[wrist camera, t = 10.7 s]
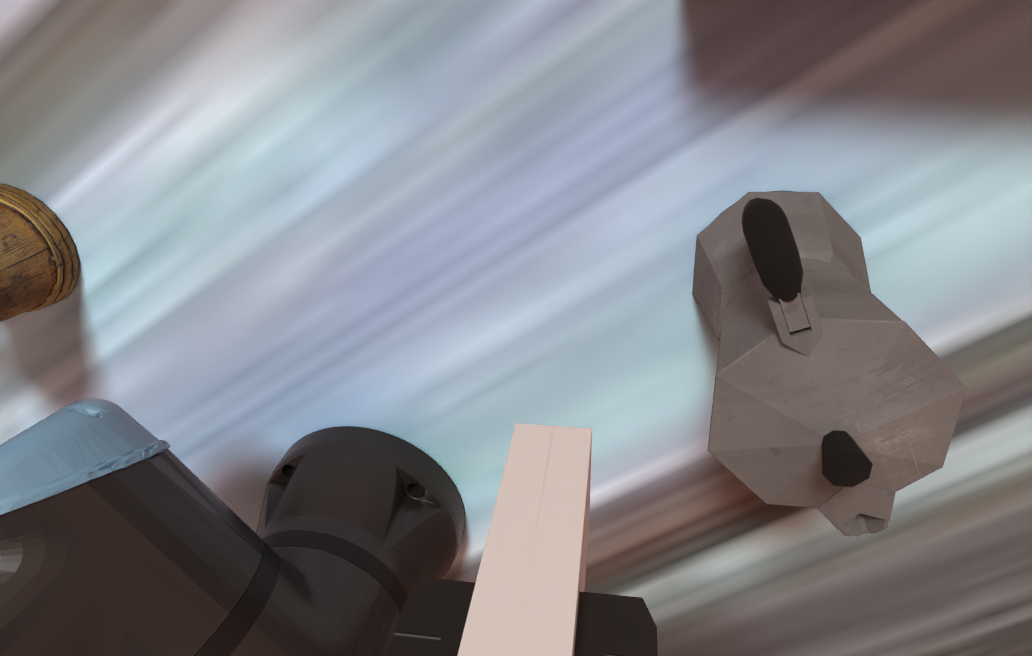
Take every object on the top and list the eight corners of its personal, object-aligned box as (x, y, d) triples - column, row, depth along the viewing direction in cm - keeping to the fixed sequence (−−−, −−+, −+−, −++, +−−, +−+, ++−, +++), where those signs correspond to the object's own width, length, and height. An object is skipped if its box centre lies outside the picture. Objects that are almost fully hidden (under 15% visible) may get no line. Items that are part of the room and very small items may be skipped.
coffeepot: (887, 334, 40) (1032, 581, 25) (725, 379, 44) (765, 622, 28) (818, 79, 35) (952, 195, 19) (637, 153, 38) (626, 302, 22)
